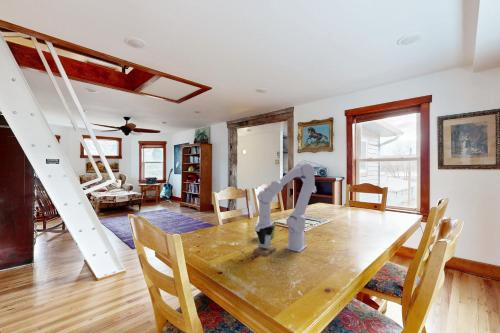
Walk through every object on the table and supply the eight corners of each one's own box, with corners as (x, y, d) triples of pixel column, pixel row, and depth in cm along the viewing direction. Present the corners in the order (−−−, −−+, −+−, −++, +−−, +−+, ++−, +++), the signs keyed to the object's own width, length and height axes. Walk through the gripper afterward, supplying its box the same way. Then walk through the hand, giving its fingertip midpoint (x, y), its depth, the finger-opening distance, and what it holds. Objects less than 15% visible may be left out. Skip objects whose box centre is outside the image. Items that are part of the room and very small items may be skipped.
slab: (262, 248, 120) (262, 244, 119) (275, 251, 115) (275, 247, 115) (253, 253, 113) (253, 249, 113) (267, 257, 108) (267, 253, 108)
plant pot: (274, 241, 129) (274, 225, 129) (258, 239, 132) (258, 224, 132) (278, 236, 138) (278, 221, 138) (263, 234, 141) (263, 220, 141)
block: (263, 243, 117) (262, 233, 117) (270, 245, 115) (270, 235, 114) (257, 245, 114) (257, 235, 114) (265, 247, 111) (265, 237, 111)
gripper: (265, 211, 122) (265, 236, 122) (249, 216, 110) (249, 244, 110) (277, 213, 118) (277, 239, 118) (261, 218, 106) (262, 247, 106)
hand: (264, 242), depth 114 cm, fingers closed on block, 5 cm apart
